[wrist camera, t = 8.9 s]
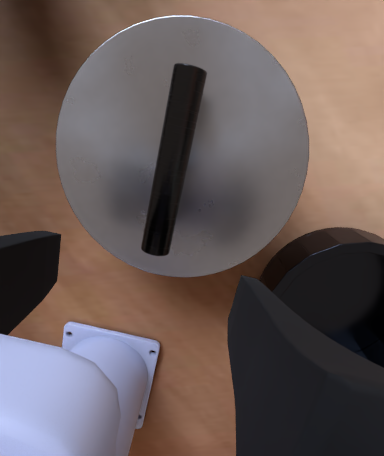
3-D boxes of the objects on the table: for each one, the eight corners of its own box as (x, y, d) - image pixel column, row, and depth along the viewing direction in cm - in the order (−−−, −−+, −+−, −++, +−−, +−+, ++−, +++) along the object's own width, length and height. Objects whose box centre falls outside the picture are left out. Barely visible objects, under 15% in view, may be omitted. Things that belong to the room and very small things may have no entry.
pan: (436, 246, 21) (477, 265, 18) (374, 373, 24) (399, 409, 21) (280, 211, 21) (293, 224, 18) (239, 343, 24) (243, 374, 21)
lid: (338, 57, 14) (405, 13, 9) (263, 290, 17) (283, 345, 13) (78, -3, 14) (9, -80, 9) (56, 243, 17) (-2, 281, 12)
